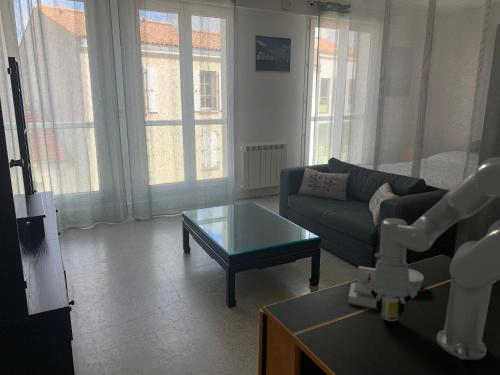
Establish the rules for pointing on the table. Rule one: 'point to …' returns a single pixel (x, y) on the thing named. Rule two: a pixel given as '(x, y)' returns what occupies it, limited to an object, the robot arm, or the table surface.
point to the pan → (362, 288)
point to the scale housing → (362, 299)
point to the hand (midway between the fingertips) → (389, 311)
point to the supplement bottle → (389, 307)
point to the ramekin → (415, 279)
